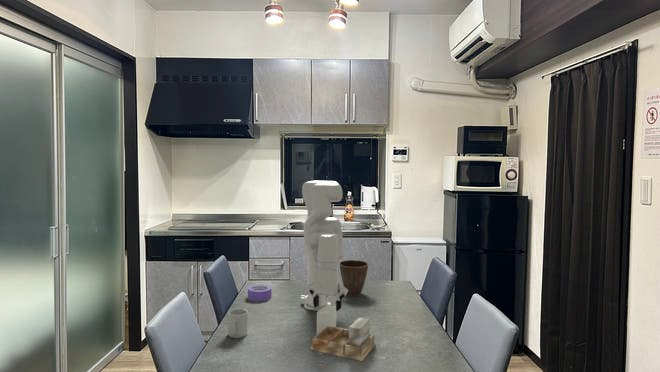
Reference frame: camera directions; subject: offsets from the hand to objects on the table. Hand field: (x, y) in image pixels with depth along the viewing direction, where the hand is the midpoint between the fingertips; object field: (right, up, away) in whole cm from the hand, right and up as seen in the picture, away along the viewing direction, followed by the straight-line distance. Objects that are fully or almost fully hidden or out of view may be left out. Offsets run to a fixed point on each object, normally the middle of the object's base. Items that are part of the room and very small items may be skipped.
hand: (327, 308), depth 163 cm
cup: (-35, -10, -5) cm, 36 cm away
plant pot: (+13, -8, +50) cm, 52 cm away
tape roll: (-34, -8, +42) cm, 55 cm away
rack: (+6, -10, -14) cm, 18 cm away
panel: (0, -10, +1) cm, 10 cm away
